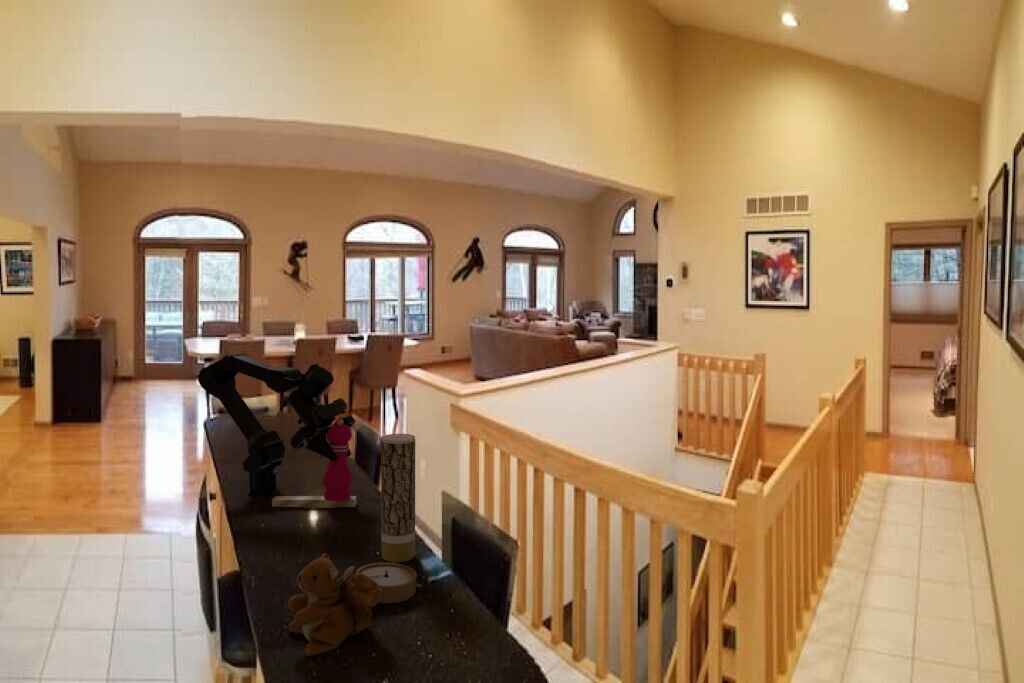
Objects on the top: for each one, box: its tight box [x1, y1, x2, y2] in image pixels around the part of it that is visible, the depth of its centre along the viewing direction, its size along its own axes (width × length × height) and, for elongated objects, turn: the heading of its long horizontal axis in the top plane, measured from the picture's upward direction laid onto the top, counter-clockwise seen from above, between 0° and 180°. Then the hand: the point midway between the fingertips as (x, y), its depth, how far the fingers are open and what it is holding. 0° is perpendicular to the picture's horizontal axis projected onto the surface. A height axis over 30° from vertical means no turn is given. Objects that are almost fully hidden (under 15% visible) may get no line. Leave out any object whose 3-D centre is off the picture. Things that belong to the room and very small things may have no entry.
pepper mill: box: [322, 417, 353, 501], centre depth 176 cm, size 7×7×20 cm
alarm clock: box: [337, 562, 423, 604], centre depth 129 cm, size 11×5×15 cm
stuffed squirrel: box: [287, 553, 382, 657], centre depth 113 cm, size 10×14×13 cm
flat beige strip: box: [271, 495, 357, 509], centre depth 177 cm, size 20×3×2 cm, turn 93°
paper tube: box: [380, 433, 416, 564], centre depth 145 cm, size 7×7×25 cm
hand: (343, 458), depth 176 cm, fingers closed on pepper mill, 5 cm apart
